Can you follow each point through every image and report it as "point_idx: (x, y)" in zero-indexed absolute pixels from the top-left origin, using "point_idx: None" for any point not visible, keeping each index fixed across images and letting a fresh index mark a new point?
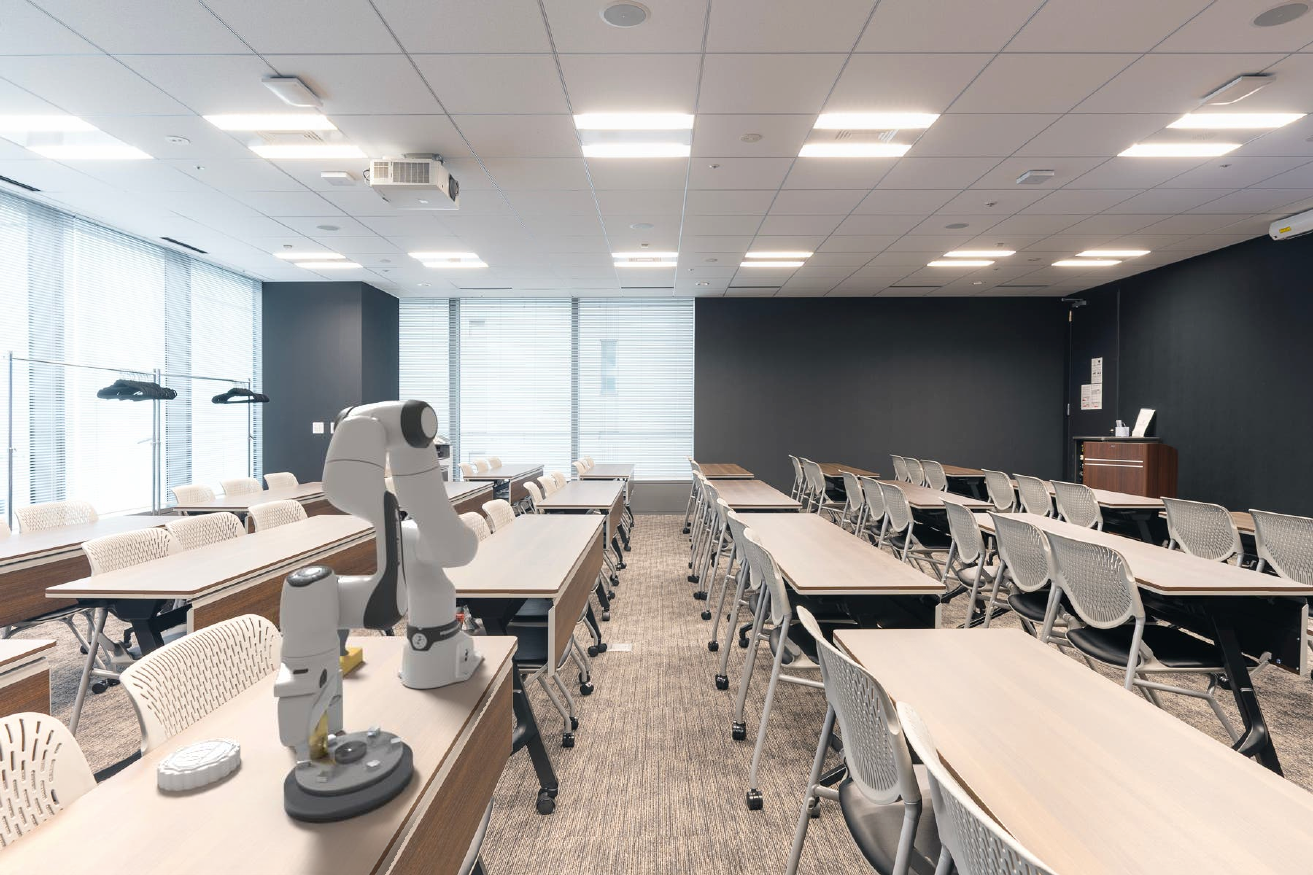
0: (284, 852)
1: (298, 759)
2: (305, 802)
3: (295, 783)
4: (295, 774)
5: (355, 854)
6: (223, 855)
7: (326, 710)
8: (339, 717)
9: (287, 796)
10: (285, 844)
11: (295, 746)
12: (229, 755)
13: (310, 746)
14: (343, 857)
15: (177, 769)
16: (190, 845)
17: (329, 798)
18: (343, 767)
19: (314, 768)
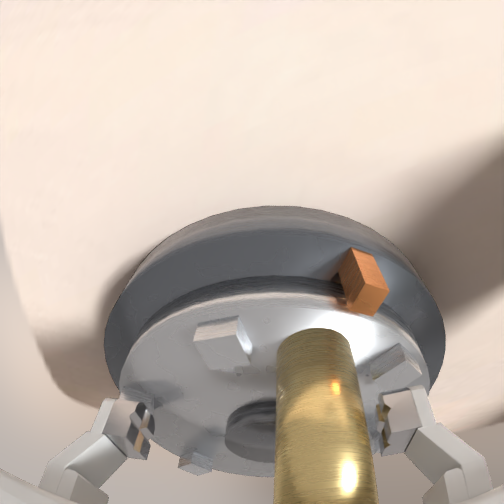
0: (41, 294)
1: (106, 404)
2: (107, 337)
3: (199, 284)
4: (193, 307)
5: (70, 385)
6: (12, 175)
7: (431, 479)
8: None
9: (131, 282)
10: (57, 288)
11: (62, 455)
12: None
13: (138, 457)
14: (61, 373)
15: None
16: (35, 61)
17: None
18: (204, 422)
19: (200, 369)
